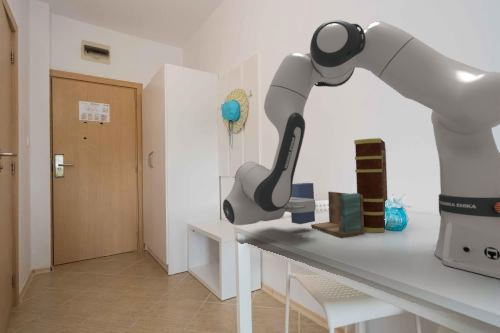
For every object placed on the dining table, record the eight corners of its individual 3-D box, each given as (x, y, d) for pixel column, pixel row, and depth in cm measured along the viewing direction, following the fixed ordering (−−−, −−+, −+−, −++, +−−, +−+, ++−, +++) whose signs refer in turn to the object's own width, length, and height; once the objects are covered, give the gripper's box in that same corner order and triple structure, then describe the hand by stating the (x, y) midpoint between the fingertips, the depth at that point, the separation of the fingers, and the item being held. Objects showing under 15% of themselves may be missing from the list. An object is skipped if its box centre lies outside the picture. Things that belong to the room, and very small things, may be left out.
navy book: (315, 221, 88) (313, 183, 89) (299, 224, 85) (298, 184, 85) (306, 219, 92) (304, 182, 92) (291, 222, 88) (289, 184, 88)
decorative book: (383, 234, 81) (380, 137, 81) (356, 231, 85) (353, 139, 85) (388, 220, 100) (385, 142, 100) (366, 218, 104) (363, 143, 104)
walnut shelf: (364, 234, 81) (362, 193, 81) (341, 238, 78) (340, 195, 78) (331, 224, 95) (330, 190, 95) (311, 227, 92) (310, 191, 92)
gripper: (294, 197, 73) (328, 193, 80) (253, 193, 90) (284, 190, 97) (295, 220, 72) (329, 213, 80) (254, 211, 90) (285, 207, 97)
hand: (304, 200), depth 89 cm, fingers closed on navy book, 4 cm apart
